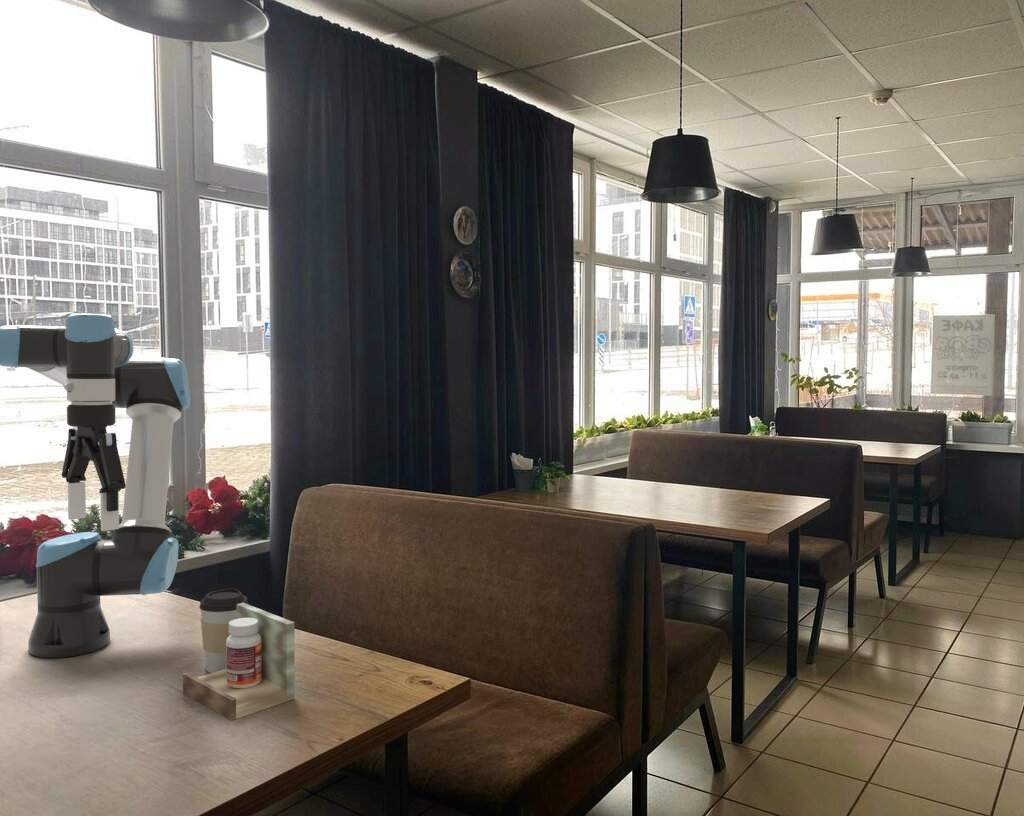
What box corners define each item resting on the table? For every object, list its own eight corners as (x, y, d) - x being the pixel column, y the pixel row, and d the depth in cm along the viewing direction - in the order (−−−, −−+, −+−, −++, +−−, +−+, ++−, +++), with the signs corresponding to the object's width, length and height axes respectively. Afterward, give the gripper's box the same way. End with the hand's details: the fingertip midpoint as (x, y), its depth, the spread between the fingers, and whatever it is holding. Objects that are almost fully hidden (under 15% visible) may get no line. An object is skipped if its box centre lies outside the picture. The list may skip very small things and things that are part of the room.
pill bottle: (263, 686, 148) (263, 624, 148) (227, 691, 146) (227, 628, 145) (259, 674, 154) (259, 615, 153) (224, 679, 152) (224, 618, 151)
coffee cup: (232, 677, 158) (232, 600, 157) (190, 673, 159) (189, 597, 158) (256, 660, 166) (256, 587, 165) (216, 656, 168) (215, 584, 167)
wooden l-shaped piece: (182, 692, 150) (182, 617, 149) (243, 673, 159) (243, 602, 159) (231, 720, 139) (231, 639, 138) (294, 698, 148) (294, 622, 147)
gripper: (40, 400, 148) (42, 516, 150) (99, 407, 132) (101, 538, 133) (83, 399, 154) (85, 511, 155) (146, 406, 138) (147, 531, 139)
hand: (93, 524), depth 144 cm, fingers open, 13 cm apart
